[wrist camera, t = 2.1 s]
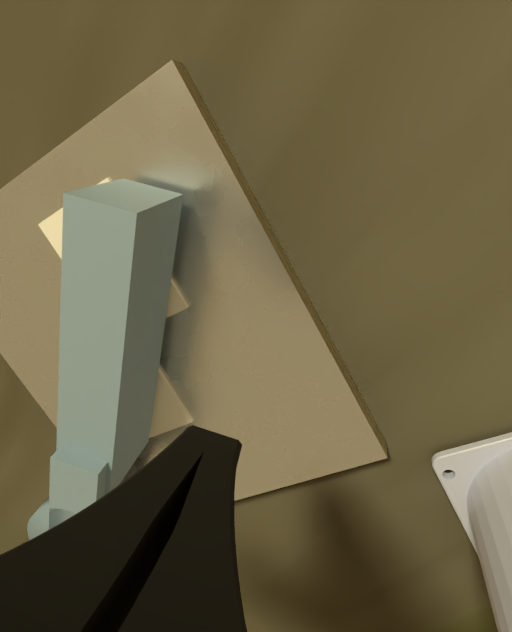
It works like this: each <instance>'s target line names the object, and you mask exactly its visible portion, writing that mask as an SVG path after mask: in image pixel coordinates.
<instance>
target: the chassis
mask: <svg viewBox="0 0 512 632" xmlns="http://www.w3.org/2000/svg"><path fill="white" fill-rule="evenodd" d="M107 177H110V179H111V180H112V181H115V180H119V179H123V178H124V179H128V180H131V181H135V182H139V183H143V184H146V185H150V186H154V187H158V188H161V189H165V190H169V191H173V192H176V193H180V194H183V199H182V207H181V214H180V221H179V228H178V235H177V242H176V249H175V256H174V264H173V271H172V279H173V281H174V283H175V284H176V286H177V288H178V289H179V291H180V292H181V294H182V296H183V297H184V299H185V301H186V302H187V304H188V305H189V307H188V308H186V309H184V310H182V311H180V312H178V313H176V314H174V315H172V316H170V317H168V318H166V321H165V328H164V335H163V342H162V349H161V356H160V364H159V368H160V369H161V371H162V373H163V374H164V376H165V377H166V379H167V380H168V382H169V383H170V385H171V386H172V388H173V389H174V391H175V392H176V394H177V395H178V397H179V398H180V400H181V401H182V403H183V404H184V406H185V407H186V409H187V410H188V412H189V413H190V415H191V416H192V418H193V422H191V423H189V424H186V425H183V426H181V427H178V428H175V429H173V430H170V431H167V432H165V433H162V434H159V435H156V436H154V437H151V438H149V441H148V443H147V444H146V446H145V447H144V449H143V450H142V452H141V453H140V455H139V456H138V458H137V459H136V461H135V462H134V463H133V465H132V466H131V468H130V469H129V471H128V472H127V474H126V475H125V477H124V478H123V480H122V481H121V483H122V482H124V481H125V480H127V479H128V478H129V477H131V476H132V475H133V474H135V473H136V472H137V471H138V470H140V469H141V468H142V467H143V466H145V465H146V464H147V463H148V462H150V461H151V460H152V459H153V458H155V457H156V456H157V455H158V454H159V453H160V452H162V451H163V450H164V449H165V448H166V447H167V446H168V445H170V444H171V443H172V442H173V441H174V440H175V439H176V438H177V437H178V436H179V435H180V434H181V433H182V432H183V431H184V430H185V429H186V428H187V427H189V426H191V425H194V426H197V427H200V428H203V429H206V430H210V431H213V432H216V433H219V434H222V435H225V436H228V437H231V438H234V439H237V440H239V441H240V442H241V444H242V448H241V452H240V456H239V460H238V464H237V468H236V478H235V492H234V501H236V500H239V499H243V498H247V497H250V496H254V495H257V494H261V493H264V492H268V491H272V490H275V489H279V488H282V487H286V486H289V485H293V484H297V483H300V482H304V481H307V480H311V479H315V478H318V477H322V476H325V475H329V474H332V473H336V472H340V471H343V470H347V469H350V468H354V467H357V466H361V465H365V464H368V463H372V462H375V461H379V460H383V459H386V458H388V456H387V443H386V441H385V440H384V438H383V436H382V434H381V432H380V430H379V428H378V426H377V425H376V423H375V421H374V419H373V417H372V415H371V413H370V412H369V410H368V408H367V406H366V404H365V402H364V400H363V399H362V397H361V395H360V393H359V391H358V389H357V387H356V385H355V384H354V382H353V380H352V378H351V376H350V374H349V372H348V371H347V369H346V367H345V365H344V363H343V361H342V359H341V358H340V356H339V354H338V352H337V350H336V348H335V346H334V344H333V343H332V341H331V339H330V337H329V335H328V333H327V331H326V330H325V328H324V326H323V324H322V322H321V320H320V318H319V317H318V315H317V313H316V311H315V309H314V307H313V305H312V303H311V302H310V300H309V298H308V296H307V294H306V292H305V290H304V289H303V287H302V285H301V283H300V281H299V279H298V277H297V276H296V274H295V272H294V270H293V268H292V266H291V264H290V262H289V261H288V259H287V257H286V255H285V253H284V251H283V249H282V248H281V246H280V244H279V242H278V240H277V238H276V236H275V235H274V233H273V231H272V229H271V227H270V225H269V223H268V221H267V220H266V218H265V216H264V214H263V212H262V210H261V208H260V207H259V205H258V203H257V201H256V199H255V197H254V195H253V194H252V192H251V190H250V188H249V186H248V184H247V182H246V180H245V179H244V177H243V175H242V173H241V171H240V169H239V167H238V166H237V164H236V162H235V160H234V158H233V156H232V154H231V153H230V151H229V149H228V147H227V145H226V143H225V141H224V139H223V138H222V136H221V134H220V132H219V130H218V128H217V126H216V125H215V123H214V121H213V119H212V117H211V115H210V113H209V112H208V110H207V108H206V106H205V104H204V102H203V100H202V98H201V97H200V95H199V93H198V91H197V89H196V87H195V85H194V84H193V82H192V80H191V78H190V76H189V74H188V72H187V71H186V69H185V67H184V65H183V63H181V62H178V61H174V60H171V61H170V62H168V63H167V64H166V65H164V66H163V67H162V68H160V69H159V70H158V71H156V72H155V73H154V74H152V75H151V76H150V77H149V78H147V79H146V80H145V81H143V82H142V83H141V84H139V85H138V86H137V87H135V88H134V89H133V90H131V91H130V92H129V93H127V94H126V95H125V96H123V97H122V98H121V99H119V100H118V101H117V102H115V103H114V104H113V105H111V106H110V107H109V108H107V109H106V110H105V111H103V112H102V113H101V114H99V115H98V116H97V117H95V118H94V119H93V120H92V121H90V122H89V123H88V124H86V125H85V126H84V127H82V128H81V129H80V130H78V131H77V132H76V133H74V134H73V135H72V136H70V137H69V138H68V139H66V140H65V141H64V142H62V143H61V144H60V145H58V146H57V147H56V148H54V149H53V150H52V151H50V152H49V153H48V154H46V155H45V156H44V157H42V158H41V159H40V160H38V161H37V162H36V163H35V164H33V165H32V166H31V167H29V168H28V169H27V170H25V171H24V172H23V173H21V174H20V175H19V176H17V177H16V178H15V179H13V180H12V181H11V182H9V183H8V184H7V185H5V186H4V187H3V188H1V189H0V354H1V355H2V356H3V357H4V359H5V360H6V361H7V363H8V364H9V365H10V367H11V368H12V369H13V371H14V372H15V373H16V375H17V376H18V377H19V379H20V380H21V381H22V383H23V384H24V385H25V387H26V388H27V389H28V391H29V392H30V393H31V394H32V396H33V397H34V398H35V400H36V401H37V402H38V404H39V405H40V406H41V408H42V409H43V410H44V412H45V413H46V414H47V416H48V417H49V418H50V420H51V421H52V422H53V424H54V425H55V426H56V428H57V412H58V375H59V338H60V301H61V264H62V259H61V258H60V257H59V255H58V254H57V252H56V251H55V249H54V248H53V246H52V245H51V243H50V242H49V240H48V239H47V237H46V236H45V234H44V233H43V231H42V230H41V228H40V227H39V225H38V224H39V223H41V222H42V221H44V220H45V219H47V218H48V217H50V216H51V215H53V214H54V213H55V212H57V211H58V210H60V209H61V208H63V193H65V192H69V191H73V190H78V189H82V188H86V187H90V186H94V185H97V184H98V183H100V182H101V181H103V180H104V179H106V178H107ZM121 483H120V484H121ZM120 484H119V485H120Z"/></svg>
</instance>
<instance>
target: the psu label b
mask: <svg viewBox="0 0 512 632" xmlns="http://www.w3.org/2000/svg"><path fill="white" fill-rule="evenodd" d="M191 422H193V418H192V416H191V415H190V413H189V412H188V410H187V409H186V407H185V406H184V404H183V403H182V401H181V400H180V398H179V397H178V395H177V394H176V392H175V391H174V389H173V388H172V386H171V385H170V383H169V382H168V380H167V379H166V377H165V376H164V374H163V373H162V371H161V369H160V368H159V371H158V378H157V385H156V392H155V399H154V406H153V414H152V421H151V428H150V435H149V438H151V437H154V436H156V435H159V434H162V433H165V432H167V431H170V430H173V429H175V428H178V427H181V426H183V425H186V424H189V423H191Z"/></svg>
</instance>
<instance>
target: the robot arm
mask: <svg viewBox="0 0 512 632" xmlns="http://www.w3.org/2000/svg"><path fill="white" fill-rule="evenodd" d="M241 448H242V444H241V442H240V441H239V440H237V439H234V438H231V437H228V436H225V435H222V434H219V433H216V432H213V431H210V430H206V429H203V428H200V427H197V426H194V425H191V426H189V427H187V428H186V429H185V430H184V431H183V432H182V433H181V434H180V435H179V436H178V437H177V438H176V439H175V440H174V441H173V442H172V443H171V444H170V445H168V446H167V447H166V448H165V449H164V450H163V451H162V452H160V453H159V454H158V455H157V456H156V457H155V458H153V459H152V460H151V461H150V462H148V463H147V464H146V465H145V466H143V467H142V468H141V469H140V470H138V471H137V472H136V473H135V474H133V475H132V476H131V477H129V478H128V479H127V480H125V481H124V482H122V483H121V484H120V485H118V486H117V487H115V488H114V489H113V490H111V491H110V492H108V493H107V494H106V495H104V496H103V497H101V498H100V499H98V500H97V501H95V502H94V503H92V504H91V505H89V506H88V507H86V508H85V509H83V510H82V511H80V512H78V513H77V514H75V515H73V516H72V517H70V518H68V519H67V520H65V521H63V522H62V523H60V524H58V525H57V526H55V527H53V528H51V529H49V530H47V531H46V532H44V533H42V534H40V535H38V536H36V537H35V538H33V539H31V540H29V541H27V542H25V543H23V544H21V545H19V546H17V547H16V548H13V549H11V550H9V551H7V552H5V553H3V554H1V555H0V632H247V629H246V624H245V619H244V613H243V606H242V600H241V593H240V585H239V577H238V569H237V558H236V545H235V526H234V492H235V478H236V468H237V464H238V460H239V456H240V452H241ZM432 465H433V469H434V471H435V473H436V475H437V477H438V478H439V480H440V482H441V484H442V486H443V488H444V490H445V492H446V494H447V496H448V498H449V500H450V502H451V504H452V506H453V508H454V510H455V512H456V514H457V516H458V517H459V519H460V521H461V523H462V525H463V527H464V529H465V531H466V533H467V535H468V537H469V539H470V541H471V543H472V545H473V547H474V549H475V551H476V553H477V554H478V556H479V560H480V564H481V567H482V571H483V575H484V579H485V583H486V587H487V591H488V595H489V599H490V602H491V606H492V610H493V614H494V618H495V622H496V626H497V630H498V632H512V432H511V433H507V434H504V435H500V436H496V437H493V438H489V439H485V440H482V441H478V442H474V443H471V444H467V445H463V446H460V447H456V448H452V449H449V450H445V451H441V452H438V453H436V454H435V455H434V456H433V457H432ZM445 470H452V472H450V473H445V472H444V471H445Z"/></svg>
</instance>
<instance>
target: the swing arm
mask: <svg viewBox="0 0 512 632" xmlns="http://www.w3.org/2000/svg"><path fill="white" fill-rule="evenodd" d="M182 199H183V194H180V193H176V192H173V191H169V190H165V189H161V188H158V187H154V186H150V185H146V184H143V183H139V182H135V181H131V180H128V179H124V178H123V179H119V180H115V181H111V182H107V183H102V184H98V185H94V186H90V187H86V188H82V189H78V190H73V191H69V192H65V193H63V227H62V264H61V301H60V338H59V375H58V412H57V449H56V452H55V453H54V454H53V455H52V456H51V457H50V494H49V498H48V499H47V500H46V501H45V502H44V503H43V504H42V505H41V506H40V508H39V509H38V510H37V511H36V512H35V513H34V515H33V516H32V517H31V518H30V520H29V523H28V529H27V530H28V536H29V539H30V540H31V539H33V538H35V537H36V536H38V535H40V534H42V533H44V532H46V531H47V530H49V529H51V528H53V527H55V526H57V525H58V524H60V523H62V522H63V521H65V520H67V519H68V518H70V517H72V516H73V515H75V514H77V513H78V512H80V511H82V510H83V509H85V508H86V507H88V506H89V505H91V504H92V503H94V502H95V501H97V500H98V499H100V498H101V497H103V496H104V495H106V494H107V493H108V492H110V491H111V490H113V489H114V488H115V487H117V486H118V485H119V484H120V483H121V481H122V480H123V478H124V477H125V475H126V474H127V472H128V471H129V469H130V468H131V466H132V465H133V463H134V462H135V461H136V459H137V458H138V456H139V455H140V453H141V452H142V450H143V449H144V447H145V446H146V444H147V443H148V441H149V435H150V428H151V421H152V414H153V406H154V399H155V392H156V385H157V378H158V371H159V364H160V356H161V349H162V342H163V335H164V328H165V321H166V314H167V306H168V299H169V292H170V285H171V278H172V271H173V264H174V256H175V249H176V242H177V235H178V228H179V221H180V214H181V207H182Z"/></svg>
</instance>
